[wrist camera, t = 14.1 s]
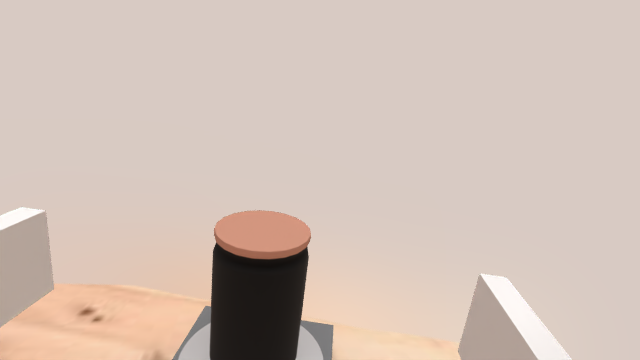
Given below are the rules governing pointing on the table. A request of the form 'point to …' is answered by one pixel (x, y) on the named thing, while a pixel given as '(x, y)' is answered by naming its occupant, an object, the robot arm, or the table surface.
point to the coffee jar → (258, 286)
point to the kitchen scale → (310, 351)
